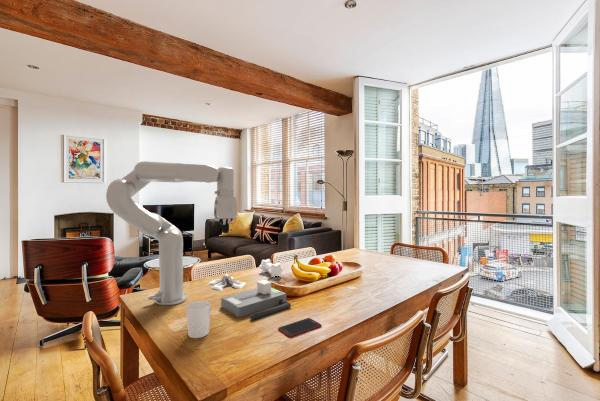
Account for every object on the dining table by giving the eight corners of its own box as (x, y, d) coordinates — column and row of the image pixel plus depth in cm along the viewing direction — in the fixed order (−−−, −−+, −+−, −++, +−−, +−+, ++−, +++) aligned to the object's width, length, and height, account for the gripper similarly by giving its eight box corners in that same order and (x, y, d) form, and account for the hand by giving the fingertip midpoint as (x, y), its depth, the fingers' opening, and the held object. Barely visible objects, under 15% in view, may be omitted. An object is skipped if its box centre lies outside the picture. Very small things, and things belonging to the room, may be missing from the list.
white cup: (190, 328, 106) (190, 300, 106) (212, 327, 107) (212, 300, 107) (183, 339, 98) (183, 309, 98) (207, 339, 99) (207, 309, 99)
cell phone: (277, 330, 106) (277, 327, 106) (309, 320, 115) (309, 317, 115) (289, 339, 100) (289, 336, 100) (322, 327, 109) (322, 324, 109)
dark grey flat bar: (251, 321, 113) (251, 316, 113) (242, 315, 117) (242, 310, 117) (291, 307, 126) (291, 302, 126) (282, 303, 131) (282, 298, 131)
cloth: (250, 288, 151) (250, 276, 151) (213, 294, 142) (213, 281, 142) (238, 276, 171) (238, 266, 171) (204, 281, 162) (204, 270, 162)
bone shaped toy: (258, 273, 178) (257, 260, 178) (271, 270, 183) (270, 257, 182) (271, 280, 166) (270, 265, 165) (284, 276, 171) (283, 262, 170)
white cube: (263, 294, 129) (263, 284, 129) (257, 291, 133) (257, 281, 132) (271, 292, 132) (271, 282, 132) (264, 289, 135) (264, 279, 135)
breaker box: (238, 317, 116) (238, 307, 115) (221, 306, 126) (221, 297, 126) (286, 302, 132) (286, 293, 132) (267, 293, 142) (267, 285, 142)
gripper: (214, 193, 132) (214, 235, 133) (243, 193, 142) (243, 232, 143) (206, 193, 137) (206, 233, 138) (235, 193, 148) (235, 230, 148)
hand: (225, 232), depth 140 cm, fingers closed
